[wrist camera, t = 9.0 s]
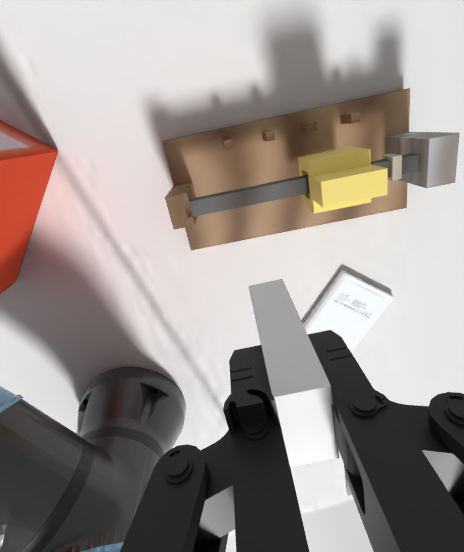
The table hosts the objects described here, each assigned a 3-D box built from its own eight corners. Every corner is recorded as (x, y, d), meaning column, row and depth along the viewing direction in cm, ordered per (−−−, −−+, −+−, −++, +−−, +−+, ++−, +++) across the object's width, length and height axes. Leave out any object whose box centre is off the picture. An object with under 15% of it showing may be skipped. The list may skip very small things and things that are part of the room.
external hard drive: (289, 340, 46) (340, 267, 42) (336, 360, 48) (389, 292, 43) (291, 347, 45) (344, 272, 40) (340, 367, 46) (396, 298, 42)
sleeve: (302, 203, 33) (324, 222, 26) (297, 157, 31) (319, 165, 24) (352, 193, 32) (387, 210, 26) (350, 146, 31) (387, 151, 24)
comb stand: (192, 246, 39) (184, 278, 31) (164, 140, 34) (146, 145, 26) (401, 205, 38) (451, 226, 30) (403, 89, 33) (464, 76, 25)
